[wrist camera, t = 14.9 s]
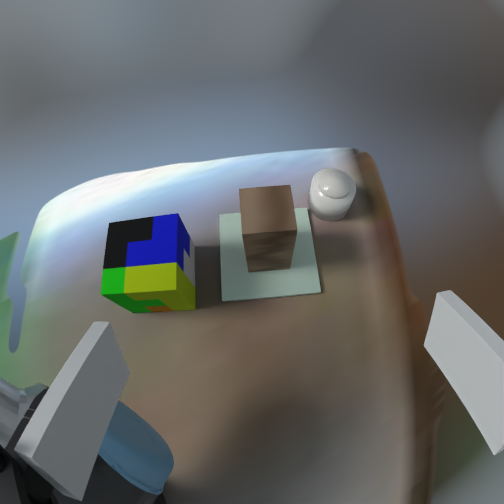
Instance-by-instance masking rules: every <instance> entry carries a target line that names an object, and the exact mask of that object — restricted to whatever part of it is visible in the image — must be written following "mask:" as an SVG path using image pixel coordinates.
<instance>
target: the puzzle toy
mask: <svg viewBox="0 0 504 504" xmlns="http://www.w3.org/2000/svg"><path fill="white" fill-rule="evenodd" d="M101 295H103V296H104V297H106V298H108V299H109V300H111V301H113V302H115V303H116V304H118V305H120V306H122V307H123V308H125V309H127V310H129V311H131V312H132V313H143V312H164V311H182V310H196V296H195V246H194V244H193V242H192V240H191V238H190V236H189V234H188V232H187V230H186V228H185V226H184V224H183V222H182V220H181V218H180V216H179V214H178V213H177V214H169V215H162V216H154V217H147V218H140V219H133V220H126V221H119V222H113V223H109V228H108V234H107V241H106V249H105V257H104V266H103V275H102V286H101Z"/></svg>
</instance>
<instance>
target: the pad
mask: <svg viewBox="0 0 504 504" xmlns="http://www.w3.org/2000/svg"><path fill="white" fill-rule="evenodd" d="M294 210H295V216H296V223H297V229H298V230H297V236H296V241H295V246H294V251H293V256H292V261H291V266H290V269H285V270H273V271H261V272H249V273H248V267H247V261H246V255H245V250H244V244H243V238H242V228H241V213H232V214H221V215H219V217H220V259H221V289H222V302H225V301H239V300H252V299H265V298H276V297H287V296H298V295H308V294H318V293H321V289H320V282H319V276H318V269H317V263H316V257H315V251H314V245H313V239H312V233H311V227H310V222H309V216H308V211H307V208H294Z"/></svg>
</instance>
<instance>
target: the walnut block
mask: <svg viewBox="0 0 504 504" xmlns="http://www.w3.org/2000/svg"><path fill="white" fill-rule="evenodd" d="M239 195H240V211H241V228H242V238H243V244H244V250H245V255H246V261H247V267H248V273H249V272H261V271H273V270H285V269H290V266H291V261H292V256H293V251H294V246H295V241H296V236H297V230H298V229H297V223H296V216H295V210H294V204H293V198H292V193H291V187H290V185H283V186H269V187H256V188H244V189H239Z"/></svg>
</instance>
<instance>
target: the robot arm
mask: <svg viewBox="0 0 504 504" xmlns="http://www.w3.org/2000/svg"><path fill="white" fill-rule="evenodd" d="M424 347H425V348H426V349H427V351H428V352H429V354H430V355H431V356H432V358H433V359H434V361H435V362H436V364H437V365H438V366H439V368H440V369H441V371H442V372H443V374H444V375H445V377H446V378H447V379H448V381H449V383H450V384H451V386H452V387H453V388H454V390H455V392H456V393H457V395H458V396H459V398H460V399H461V401H462V402H463V404H464V405H465V407H466V408H467V410H468V412H469V414H470V415H471V417H472V418H473V420H474V422H475V423H476V425H477V427H478V428H479V430H480V432H481V433H482V435H483V437H484V438H485V440H486V442H487V444H488V446H489V447H490V449H491V451H492V453H493V455H496V454H497V453H499V452H501V451H502V450H504V341H503V340H502V339H501V338H500V337H499V336H498V335H497V334H496V333H495V332H494V331H493V330H492V329H491V328H490V327H489V326H488V325H487V324H486V323H485V322H484V321H483V320H482V319H481V318H480V317H479V316H478V315H477V314H476V313H475V312H474V311H473V310H472V309H471V308H470V307H468V306H467V305H466V304H465V303H464V302H463V301H462V300H461V299H460V298H459V297H458V296H457V295H455V294H454V293H453V292H452V291H451V290H448V291H443V292H438V293H437V296H436V300H435V305H434V309H433V313H432V317H431V321H430V325H429V328H428V332H427V336H426V339H425V342H424ZM129 374H130V372H129V369H128V367H127V365H126V362H125V360H124V357H123V355H122V353H121V350H120V348H119V345H118V343H117V340H116V337H115V335H114V332H113V330H112V327H111V324H110V322H94V323H93V324H92V325H91V327H90V328H89V329H88V331H87V332H86V334H85V335H84V337H83V338H82V339H81V341H80V342H79V344H78V345H77V347H76V348H75V349H74V351H73V352H72V354H71V355H70V357H69V358H68V360H67V361H66V363H65V364H64V366H63V367H62V369H61V370H60V372H59V374H58V375H57V377H56V378H55V380H54V381H53V383H52V384H51V386H50V388H49V387H47V386H45V385H44V384H42V383H38V384H35V385H32V386H29V387H27V388H24V389H23V388H17V387H16V386H14V385H12V384H11V383H9V382H7V381H6V380H4V379H3V378H1V377H0V504H166V503H165V500H164V497H163V495H162V492H163V489H164V484H165V482H166V480H167V479H168V477H169V475H170V473H171V472H172V469H173V466H174V459H173V455H172V452H171V450H170V448H169V446H168V445H167V443H166V442H165V441H164V440H163V438H162V437H161V436H160V435H159V434H158V433H157V432H156V431H155V430H154V429H153V428H152V427H151V426H150V425H149V424H148V423H147V422H146V421H145V420H143V419H142V418H141V417H140V416H139V415H137V414H136V413H135V412H134V411H133V410H131V409H130V408H129V407H127V406H126V405H125V404H123V403H122V402H120V401H119V398H120V396H121V393H122V391H123V388H124V386H125V384H126V381H127V379H128V377H129Z"/></svg>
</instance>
